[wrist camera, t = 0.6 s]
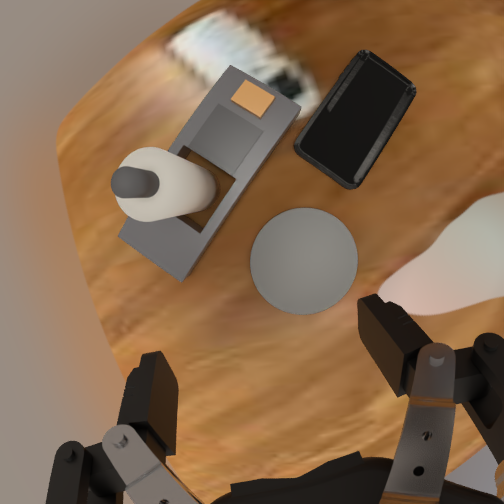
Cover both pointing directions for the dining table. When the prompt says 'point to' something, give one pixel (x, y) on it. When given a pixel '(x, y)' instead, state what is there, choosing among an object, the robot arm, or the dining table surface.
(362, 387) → the dining table surface
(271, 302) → the pad
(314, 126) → the phone
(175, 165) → the white and grey cylinder
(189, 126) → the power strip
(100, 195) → the dining table surface
